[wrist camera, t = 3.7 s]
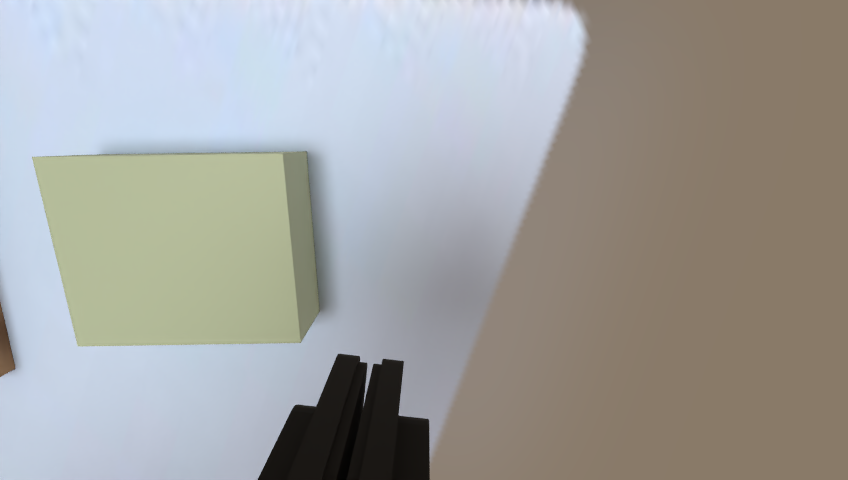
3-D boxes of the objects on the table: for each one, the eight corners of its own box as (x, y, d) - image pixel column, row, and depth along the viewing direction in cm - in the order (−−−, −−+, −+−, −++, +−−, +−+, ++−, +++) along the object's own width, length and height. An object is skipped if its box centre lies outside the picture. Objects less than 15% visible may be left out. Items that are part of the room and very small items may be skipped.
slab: (320, 308, 26) (300, 342, 22) (135, 311, 26) (77, 346, 22) (308, 151, 24) (282, 153, 19) (104, 154, 24) (32, 157, 19)
